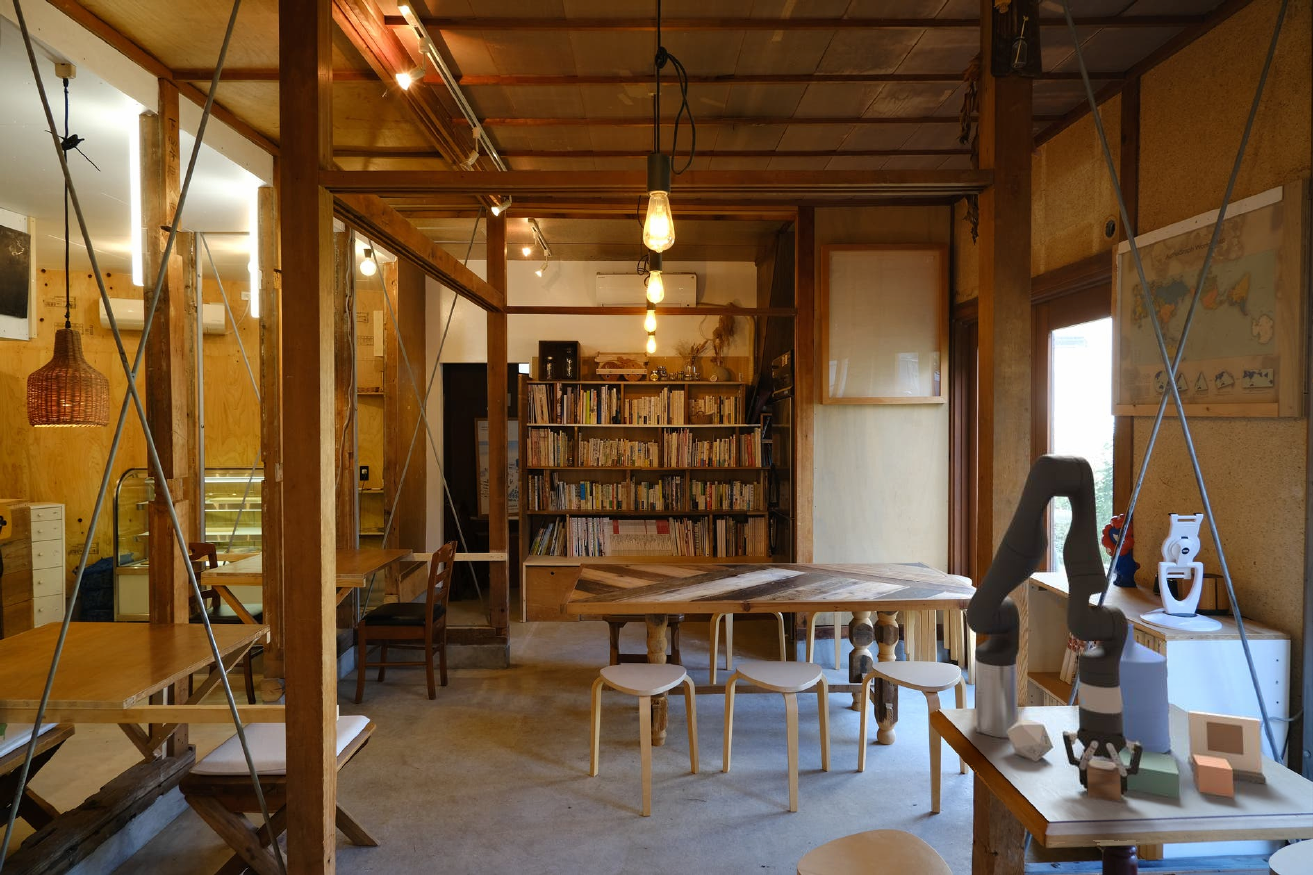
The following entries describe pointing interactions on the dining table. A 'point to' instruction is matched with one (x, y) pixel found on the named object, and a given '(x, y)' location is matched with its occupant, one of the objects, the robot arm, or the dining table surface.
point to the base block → (1153, 774)
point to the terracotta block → (1213, 775)
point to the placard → (1228, 742)
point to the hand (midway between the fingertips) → (1103, 789)
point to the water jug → (1144, 696)
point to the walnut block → (1103, 780)
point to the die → (1029, 739)
